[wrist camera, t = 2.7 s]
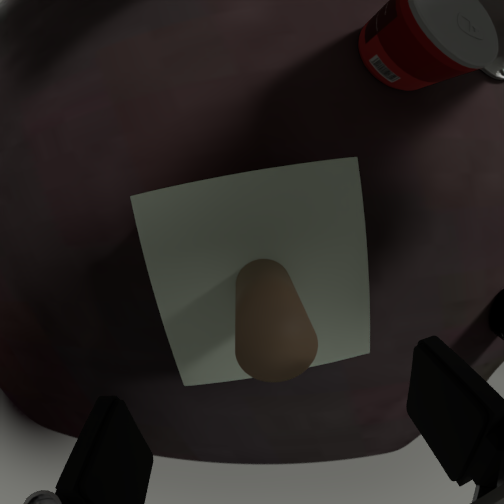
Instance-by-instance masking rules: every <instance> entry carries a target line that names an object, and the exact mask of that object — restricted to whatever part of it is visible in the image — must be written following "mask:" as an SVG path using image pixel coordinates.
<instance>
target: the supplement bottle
mask: <svg viewBox="0 0 504 504" xmlns="http://www.w3.org/2000/svg"><path fill="white" fill-rule="evenodd" d="M489 325H490V328H491V330H492V331H493V332H494V333H495V334H496V335H497V336H499V337H500V338H501V339H502V340H504V290H503V291H502V292H501V293H500V294H499V295H498V297H497V298H496V300H495V302H494V304H493V306H492V308H491V311H490V316H489Z"/></svg>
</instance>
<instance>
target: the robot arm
mask: <svg viewBox="0 0 504 504" xmlns="http://www.w3.org/2000/svg"><path fill="white" fill-rule="evenodd" d="M478 1H479V2H480V3H481V4H482V6H483V7H484V9H485V10H486V12H487V13H488V15H489V17H490V18H491V20H492V22H493V25H494V27H495V30H496V33H497V37H498V54H497V57H496V59H495V60H494V61H493V63H491V64H490V65H488V66H486V67H484V68H481V69H480V70H482V71H483V72H484V73H486V74H487V75H489V76H491V77H492V78H494V79H498V80H504V0H478ZM407 412H408V415H409V416H410V418H411V419H412V421H413V422H414V424H415V425H416V427H417V428H418V430H419V431H420V433H421V435H422V436H423V438H424V439H425V440H426V442H427V444H428V445H429V447H430V448H431V450H432V451H433V453H434V455H435V456H436V458H437V459H438V461H439V462H440V464H441V466H442V467H443V468H444V470H445V472H446V473H447V475H448V477H449V478H450V479H451V480H452V481H457V483H458V485H459V486H462V485H464V484H465V483H467V482H469V481H471V480H472V479H473V481H474V482H475V484H476V488H475V493H474V497H473V501H472V503H471V504H504V399H503V398H502V397H501V396H500V395H499V394H498V393H497V392H496V391H495V390H494V389H493V388H492V387H491V386H490V385H489V384H488V383H487V382H486V381H485V380H484V379H483V378H482V377H481V376H480V375H479V374H477V373H476V372H475V371H474V370H473V369H472V368H471V367H470V366H469V365H468V364H467V363H466V362H465V361H464V360H462V359H461V358H460V357H459V356H458V355H457V354H456V353H455V352H454V351H453V350H452V349H450V348H449V347H448V346H447V345H446V344H445V343H444V342H443V341H442V340H440V339H439V338H438V337H437V336H431V337H428V338H425V339H423V340H420V341H419V342H418V345H417V346H416V347H415V348H414V352H413V362H412V371H411V379H410V386H409V393H408V400H407ZM152 465H153V454H152V452H151V450H150V448H149V447H148V445H147V443H146V441H145V440H144V438H143V436H142V434H141V433H140V431H139V429H138V427H137V425H136V423H135V422H134V420H133V418H132V416H131V414H130V412H129V410H128V408H127V406H126V404H125V402H124V401H123V400H120V399H119V398H118V397H117V396H100V397H99V398H98V400H97V402H96V404H95V405H94V407H93V409H92V411H91V413H90V415H89V417H88V419H87V421H86V423H85V425H84V427H83V429H82V431H81V433H80V435H79V438H78V440H77V442H76V444H75V446H74V448H73V450H72V452H71V454H70V456H69V459H68V461H67V463H66V465H65V467H64V470H63V472H62V474H61V476H60V478H59V481H58V483H57V485H56V489H57V490H56V493H55V494H54V493H53V492H50V491H45V490H41V491H37V492H35V493H33V494H31V495H30V496H29V497H28V498H27V499H26V500H25V502H24V504H144V503H145V498H146V493H147V488H148V483H149V479H150V474H151V469H152Z"/></svg>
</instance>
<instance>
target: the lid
mask: <svg viewBox="0 0 504 504" xmlns="http://www.w3.org/2000/svg"><path fill="white" fill-rule="evenodd" d="M130 198H131V203H132V207H133V212H134V217H135V221H136V225H137V230H138V234H139V238H140V242H141V246H142V250H143V254H144V258H145V262H146V266H147V270H148V274H149V277H150V281H151V284H152V288H153V292H154V295H155V298H156V302H157V305H158V309H159V312H160V315H161V319H162V322H163V325H164V328H165V331H166V334H167V337H168V340H169V344H170V347H171V350H172V352H173V355H174V358H175V361H176V364H177V367H178V370H179V373H180V375H181V378H182V381H183V384H184V386H190V385H200V384H209V383H217V382H225V381H233V380H240V379H246V378H255V379H257V380H261V381H265V382H282V381H286V380H289V379H292V378H294V377H297V376H298V375H300V374H301V373H303V372H304V371H305V370H306V369H307V368H308V367H313V366H317V365H322V364H326V363H331V362H335V361H339V360H343V359H347V358H351V357H355V356H359V355H363V354H367V353H370V299H369V273H368V255H367V241H366V228H365V217H364V207H363V198H362V189H361V181H360V173H359V166H358V159H357V157H349V158H340V159H331V160H323V161H316V162H308V163H301V164H294V165H287V166H280V167H274V168H267V169H261V170H255V171H249V172H243V173H238V174H232V175H227V176H221V177H216V178H211V179H206V180H201V181H196V182H191V183H186V184H181V185H176V186H172V187H167V188H163V189H158V190H154V191H150V192H145V193H141V194H137V195H133V196H130Z"/></svg>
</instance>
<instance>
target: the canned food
mask: <svg viewBox="0 0 504 504" xmlns="http://www.w3.org/2000/svg"><path fill="white" fill-rule="evenodd" d="M358 47H359V53H360V56H361V59H362V61H363V63H364V65H365V66H366V68H367V69H368V70H369V72H370V73H371V74H372V75H373V76H374V77H375V78H376V79H378V80H379V81H380V82H382V83H384V84H385V85H387V86H389V87H392V88H395V89H400V90H405V91H413V90H417V89H420V88H423V87H426V86H429V85H432V84H435V83H438V82H441V81H444V80H447V79H450V78H453V77H456V76H459V75H462V74H466V73H469V72H472V71H475V70H478V69H481V68H484V67H486V66H488V65H490V64H491V63H493V61H494V60H495V59H496V57H497V54H498V37H497V33H496V30H495V27H494V25H493V22H492V20H491V18H490V17H489V15H488V13H487V12H486V10H485V9H484V7H483V6H482V4H481V3H480V2H479V1H478V0H389V1H388V2H387V3H386V4H385V5H384V6H383V7H382V8H381V9H380V10H379V11H378V12H377V13H376V14H375V15H374V16H373V17H372V18H371V19H370V20H369V21H368V23H367V24H366V25H365V26H364V27H363V28H362V30H361V33H360V35H359V43H358Z"/></svg>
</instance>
